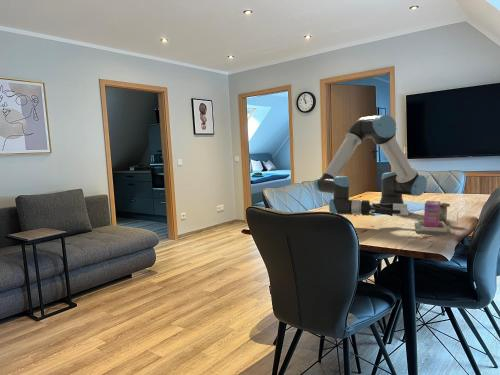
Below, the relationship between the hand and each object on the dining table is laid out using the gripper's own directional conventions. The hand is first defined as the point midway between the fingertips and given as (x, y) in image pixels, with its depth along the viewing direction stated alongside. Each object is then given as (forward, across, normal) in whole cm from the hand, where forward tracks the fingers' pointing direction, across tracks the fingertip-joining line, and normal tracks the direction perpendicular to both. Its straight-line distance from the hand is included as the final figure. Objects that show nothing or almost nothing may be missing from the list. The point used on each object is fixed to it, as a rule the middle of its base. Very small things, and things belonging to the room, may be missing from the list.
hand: (407, 209), depth 174 cm
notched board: (+10, 0, -9) cm, 14 cm away
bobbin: (+16, -15, -9) cm, 24 cm away
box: (+10, 0, -8) cm, 13 cm away
